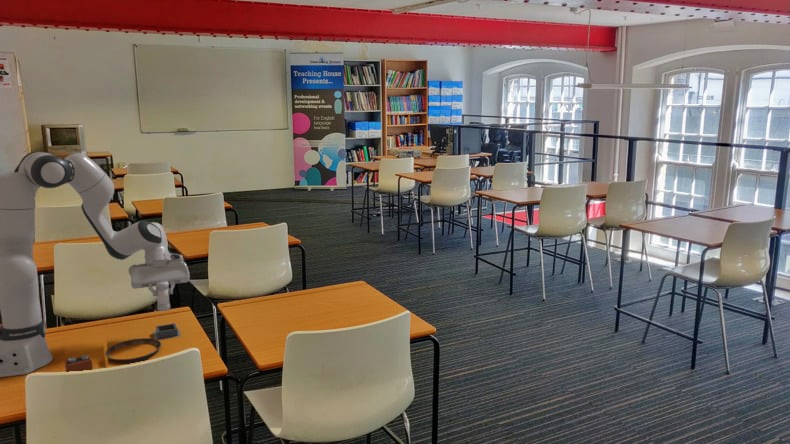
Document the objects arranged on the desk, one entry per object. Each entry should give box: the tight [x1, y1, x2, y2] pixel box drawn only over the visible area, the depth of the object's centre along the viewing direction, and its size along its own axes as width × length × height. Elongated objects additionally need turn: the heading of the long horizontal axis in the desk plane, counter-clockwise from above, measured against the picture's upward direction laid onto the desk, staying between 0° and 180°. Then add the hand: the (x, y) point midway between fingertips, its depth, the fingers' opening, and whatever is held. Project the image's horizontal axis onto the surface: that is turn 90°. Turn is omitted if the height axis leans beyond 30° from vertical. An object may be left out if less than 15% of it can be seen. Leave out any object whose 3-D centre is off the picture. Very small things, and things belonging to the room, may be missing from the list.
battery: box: [64, 354, 94, 373], centre depth 180 cm, size 4×7×10 cm, turn 127°
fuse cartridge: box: [155, 281, 171, 312], centre depth 217 cm, size 4×4×10 cm
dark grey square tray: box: [152, 322, 182, 341], centre depth 220 cm, size 9×9×4 cm
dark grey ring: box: [105, 337, 162, 365], centre depth 204 cm, size 18×18×3 cm
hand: (163, 294), depth 216 cm, fingers closed on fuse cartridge, 4 cm apart
